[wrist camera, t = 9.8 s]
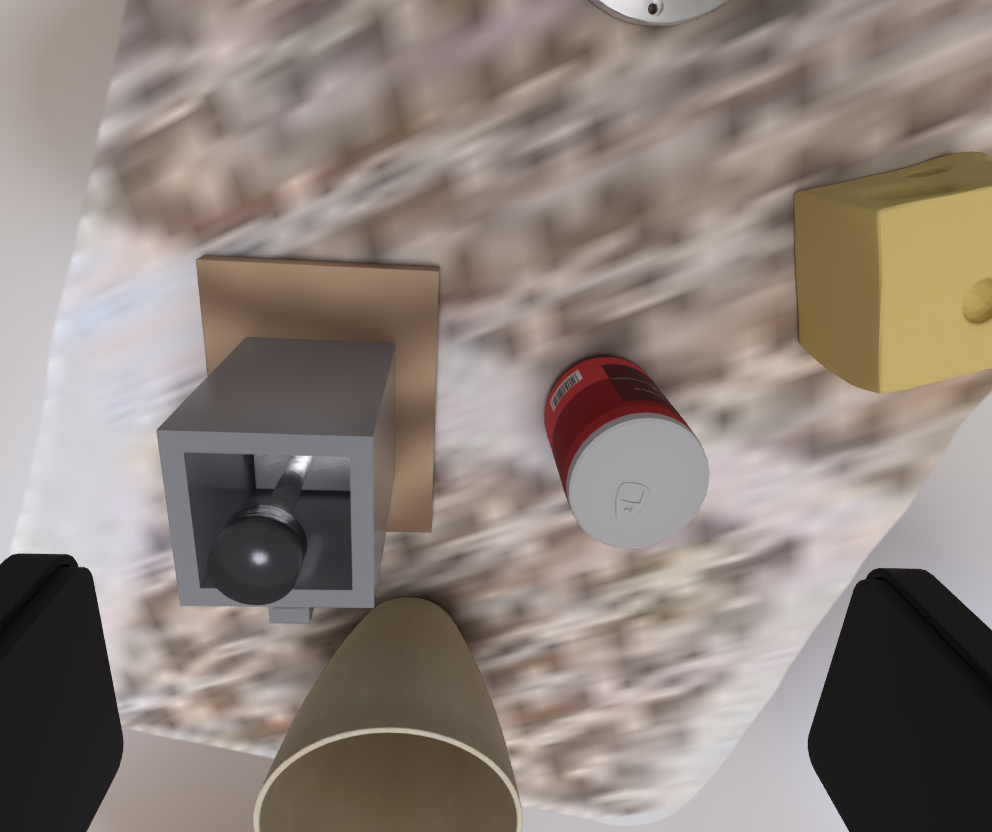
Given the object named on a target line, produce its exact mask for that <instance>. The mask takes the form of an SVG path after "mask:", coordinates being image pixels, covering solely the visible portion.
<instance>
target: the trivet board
mask: <svg viewBox="0 0 992 832" xmlns="http://www.w3.org/2000/svg"><path fill="white" fill-rule="evenodd" d="M196 266H197V276H198V285H199V295H200V305H201V315H202V325H203V335H204V345H205V354H206V364H207V374H208V376H209V375H210V374H211V373H212V372H213V371H214V370H215V369H216V368H217V367H218V366H219V364H220V363H221V362H222V361H223V360H224V359H225V358H226V357H227V356H228V355H229V354H230V353H231V352H232V351H233V350H234V349H235V348H236V347H237V346H238V345H239V344H240V343H241V342H242V341H243V339H244V338H245V337H264V338H288V339H313V340H337V341H361V342H385V343H396V435H395V478H394V484H393V491H392V497H391V504H390V510H389V516H388V523H387V529H386V532H431V528H432V498H433V465H434V432H435V399H436V366H437V334H438V301H439V268H440V267H431V266H411V265H391V264H371V263H351V262H332V261H312V260H292V259H272V258H252V257H232V256H212V255H204V256H202V257H200V258H198V259H196Z"/></svg>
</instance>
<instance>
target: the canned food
mask: <svg viewBox="0 0 992 832" xmlns="http://www.w3.org/2000/svg"><path fill="white" fill-rule="evenodd" d="M545 427H546V432H547V436H548V439H549V442H550V446H551V449H552V452H553V456H554V459H555V462H556V466H557V469H558V472H559V475H560V479H561V482H562V485H563V489H564V492H565V495H566V498H567V501H568V504H569V507H570V509H571V511H572V513H573V515H574V517H575V518H576V520H577V522H578V523H579V525H580V526H581V527H582V528H583V530H584V531H585V532H586V533H588V534H589V535H590V536H591V537H593V538H594V539H596V540H597V541H599V542H601V543H603V544H606V545H609V546H613V547H617V548H627V549H633V548H644V547H647V546H651V545H655V544H658V543H660V542H662V541H664V540H666V539H668V538H670V537H672V536H673V535H675V534H676V533H678V532H679V531H681V530H682V529H683V528H684V527H685V526H686V525H687V524H688V523H689V522H690V521H691V520H692V518H693V517H694V516H695V514H696V513H697V512H698V511H699V509H700V507H701V505H702V503H703V501H704V499H705V496H706V492H707V489H708V484H709V466H708V460H707V457H706V455H705V452H704V449H703V448H702V445H701V443H700V442H699V440H698V439H697V437H696V436H695V434H694V433H693V432H692V430H691V429H690V427H689V426H688V425H687V423H686V422H685V421H684V420H683V418H682V417H681V416H680V415H679V413H678V412H677V411H676V410H675V408H674V407H673V406H672V405H671V403H670V402H669V401H668V400H667V398H666V397H665V396H664V395H663V393H662V392H661V391H660V390H659V389H658V387H657V386H656V385H655V384H654V382H653V381H652V380H651V379H650V377H649V376H648V375H647V374H646V373H645V372H644V371H643V370H642V369H641V368H640V367H638V366H637V365H635V364H633V363H632V362H630V361H627V360H624V359H621V358H614V357H595V358H591V359H588V360H584V361H582V362H580V363H578V364H576V365H574V366H573V367H571V368H570V369H569V370H568V371H566V372H565V373H564V374H563V375H562V376H561V377H560V379H559V380H558V381H557V383H556V384H555V386H554V387H553V389H552V391H551V393H550V396H549V398H548V401H547V404H546V409H545Z"/></svg>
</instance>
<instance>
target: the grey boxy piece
mask: <svg viewBox="0 0 992 832" xmlns="http://www.w3.org/2000/svg"><path fill="white" fill-rule="evenodd" d="M395 435H396V343H385V342H361V341H337V340H313V339H288V338H264V337H245V338H244V339H243V341H242V342H241V343H240V344H239V345H238V346H237V347H236V348H235V349H234V350H233V351H232V352H231V353H230V354H229V355H228V356H227V357H226V358H225V359H224V360H223V361H222V362H221V363H220V364H219V366H218V367H217V368H216V369H215V370H214V371H213V372H212V373H211V374H210V375H209V376H208V377H207V378H206V379H205V380H204V381H203V382H202V383H201V384H200V385H199V386H198V387H197V388H196V389H195V391H194V392H193V393H192V394H191V395H190V396H189V397H188V398H187V399H186V400H185V401H184V402H183V403H182V404H181V405H180V406H179V407H178V408H177V409H176V410H175V411H174V412H173V413H172V414H171V416H170V417H169V418H168V419H167V420H166V421H165V422H164V423H163V424H162V425H161V426H160V427H159V428H158V429H157V438H158V445H159V453H160V460H161V467H162V475H163V482H164V490H165V497H166V504H167V512H168V519H169V526H170V534H171V541H172V549H173V556H174V563H175V571H176V578H177V586H178V593H179V600H180V606H250V607H269V616H270V623H294V624H310V621H311V617H312V614H313V610H314V607H337V608H374V605H375V599H376V592H377V586H378V580H379V573H380V567H381V561H382V554H383V548H384V542H385V535H386V529H387V523H388V516H389V510H390V504H391V497H392V491H393V484H394V478H395ZM254 454H260V455H295V456H331V457H350V489H351V491H336V490H301V492H300V495H299V497H298V500H297V502H296V504H295V507H294V509H293V512H292V514H291V515H292V516H293V517H294V518H295V519H296V520H298V522H299V523H300V524H301V526H302V527H303V529H304V531H305V533H306V537H307V551H306V554H305V557H304V560H303V563H302V566H301V569H300V572H299V575H298V578H297V581H296V584H295V586H294V587H293V589H292V590H291V591H290V592H289V593H288V594H287V595H286V596H285V597H284V598H282V599H280V600H278V601H276V602H274V603H270V604H266V605H248V604H243V603H239V602H236V601H234V600H232V599H230V598H228V597H226V596H225V595H223V594H222V593H221V592H220V591H219V590H218V589H217V588H216V587H215V586H214V584H213V583H212V581H211V579H210V577H209V574H208V570H207V559H208V556H209V553H210V551H211V549H212V547H213V545H214V544H215V542H216V540H217V538H218V536H219V535H220V533H221V531H222V529H223V527H224V526H225V524H226V522H227V521H228V519H229V518H230V517H231V516H232V515H234V514H235V513H236V512H238V511H240V510H241V509H244V508H247V507H250V506H256V505H265V506H267V504H268V501H269V499H270V497H271V495H272V493H273V491H274V489H256V478H255V465H254Z"/></svg>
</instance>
